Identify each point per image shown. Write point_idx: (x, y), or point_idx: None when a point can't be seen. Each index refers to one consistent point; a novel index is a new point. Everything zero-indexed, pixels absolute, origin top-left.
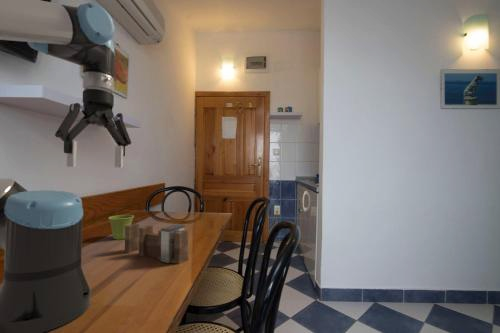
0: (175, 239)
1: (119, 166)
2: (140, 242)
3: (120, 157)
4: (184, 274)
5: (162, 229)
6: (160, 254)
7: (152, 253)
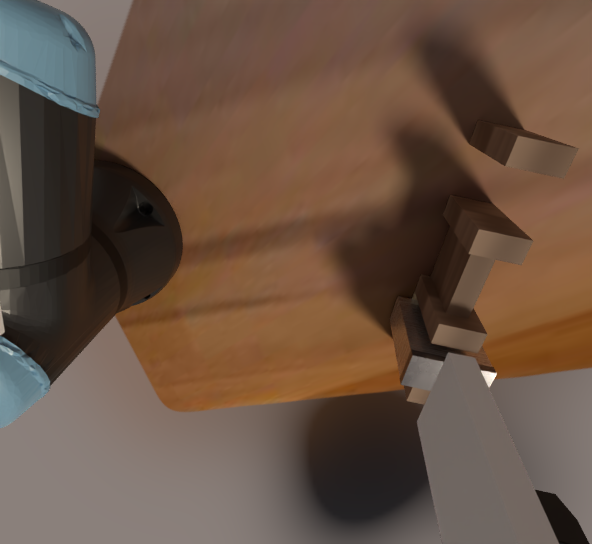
0: None
1: (424, 414)
2: (459, 217)
3: (439, 512)
4: (335, 375)
5: (409, 358)
6: (419, 291)
7: (444, 250)
